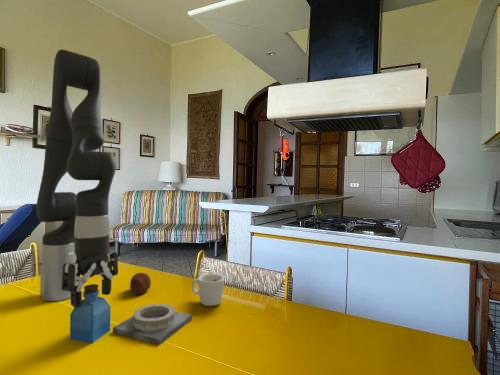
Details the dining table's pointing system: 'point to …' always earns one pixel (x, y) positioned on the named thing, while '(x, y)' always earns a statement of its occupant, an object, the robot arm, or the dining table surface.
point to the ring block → (153, 323)
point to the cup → (209, 289)
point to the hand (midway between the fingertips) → (92, 300)
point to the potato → (140, 283)
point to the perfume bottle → (90, 317)
